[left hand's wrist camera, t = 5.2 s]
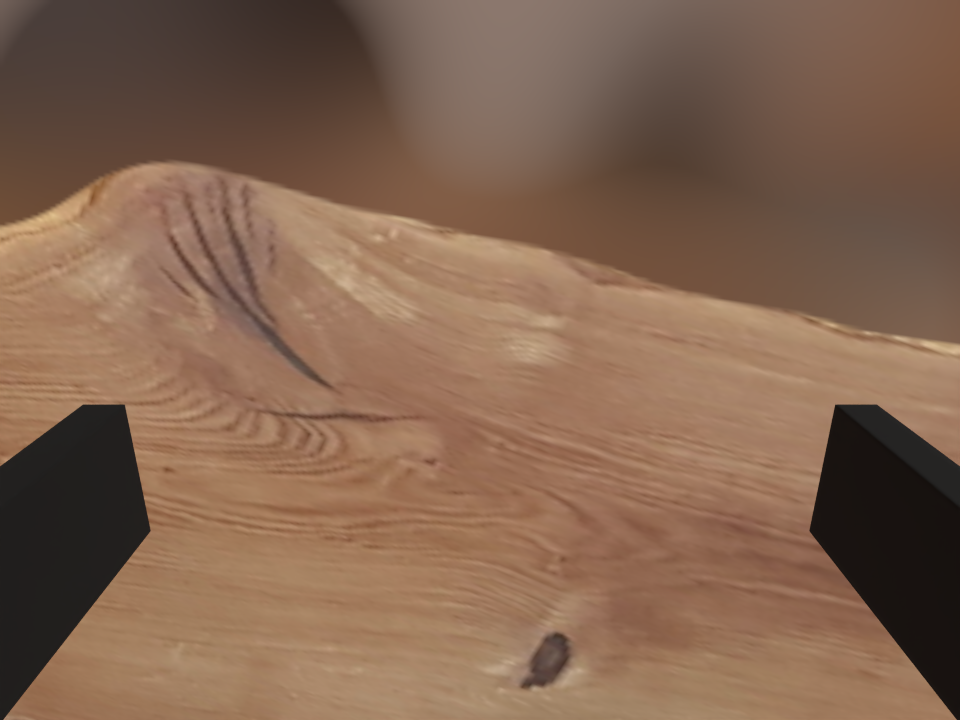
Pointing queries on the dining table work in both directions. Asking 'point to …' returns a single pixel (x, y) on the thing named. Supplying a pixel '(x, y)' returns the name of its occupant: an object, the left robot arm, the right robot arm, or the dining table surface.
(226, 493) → the dining table surface
